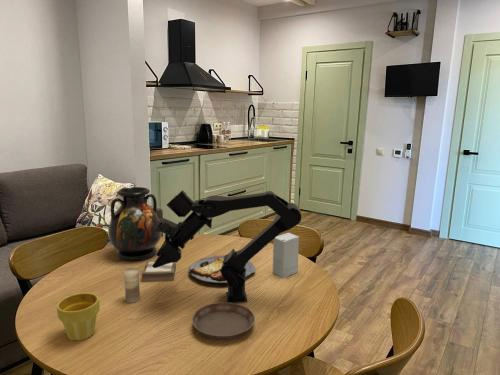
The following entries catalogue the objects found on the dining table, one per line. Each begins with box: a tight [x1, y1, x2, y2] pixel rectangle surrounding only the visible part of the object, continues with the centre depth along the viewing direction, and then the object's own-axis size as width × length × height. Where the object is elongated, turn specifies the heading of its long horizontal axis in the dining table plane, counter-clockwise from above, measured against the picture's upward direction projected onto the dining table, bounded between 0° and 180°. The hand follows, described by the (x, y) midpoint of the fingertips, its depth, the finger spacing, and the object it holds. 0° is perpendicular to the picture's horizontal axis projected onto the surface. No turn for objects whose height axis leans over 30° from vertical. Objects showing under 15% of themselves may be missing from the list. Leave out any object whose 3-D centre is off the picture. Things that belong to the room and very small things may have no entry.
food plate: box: [188, 254, 256, 285], centre depth 141 cm, size 25×23×4 cm
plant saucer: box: [191, 302, 256, 342], centre depth 106 cm, size 18×18×3 cm
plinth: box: [141, 260, 177, 283], centre depth 138 cm, size 11×11×3 cm
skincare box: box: [272, 232, 300, 279], centre depth 140 cm, size 8×6×15 cm
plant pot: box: [56, 292, 100, 341], centre depth 101 cm, size 10×10×10 cm
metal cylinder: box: [123, 267, 141, 304], centre depth 119 cm, size 4×4×10 cm
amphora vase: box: [107, 186, 163, 262], centre depth 155 cm, size 22×22×28 cm
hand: (155, 261), depth 119 cm, fingers open, 9 cm apart
